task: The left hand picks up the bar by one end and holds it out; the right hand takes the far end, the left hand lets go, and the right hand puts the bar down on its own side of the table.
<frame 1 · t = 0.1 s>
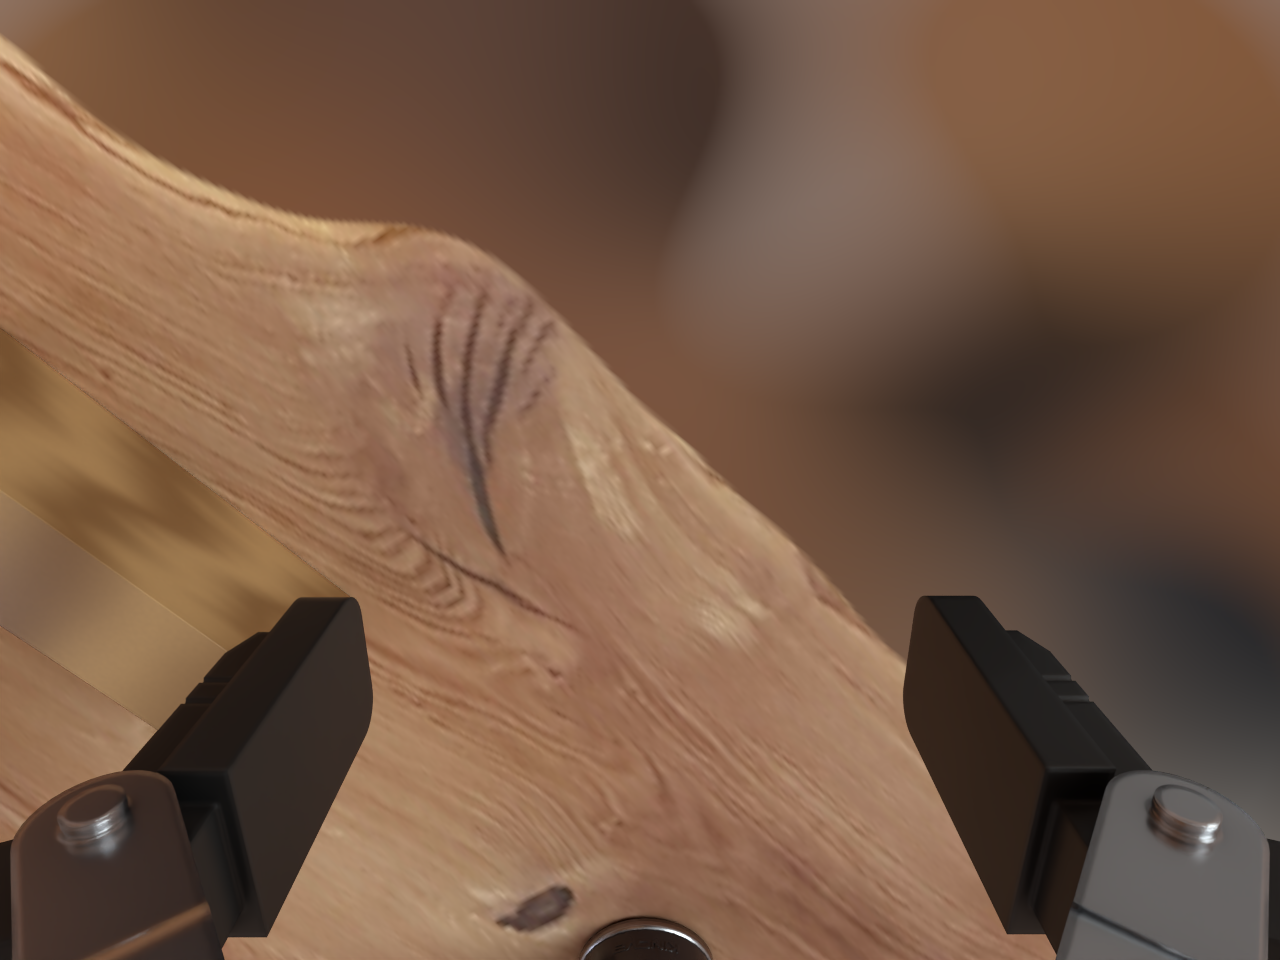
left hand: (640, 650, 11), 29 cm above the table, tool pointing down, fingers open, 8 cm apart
bar: (152, 505, 42), on the table
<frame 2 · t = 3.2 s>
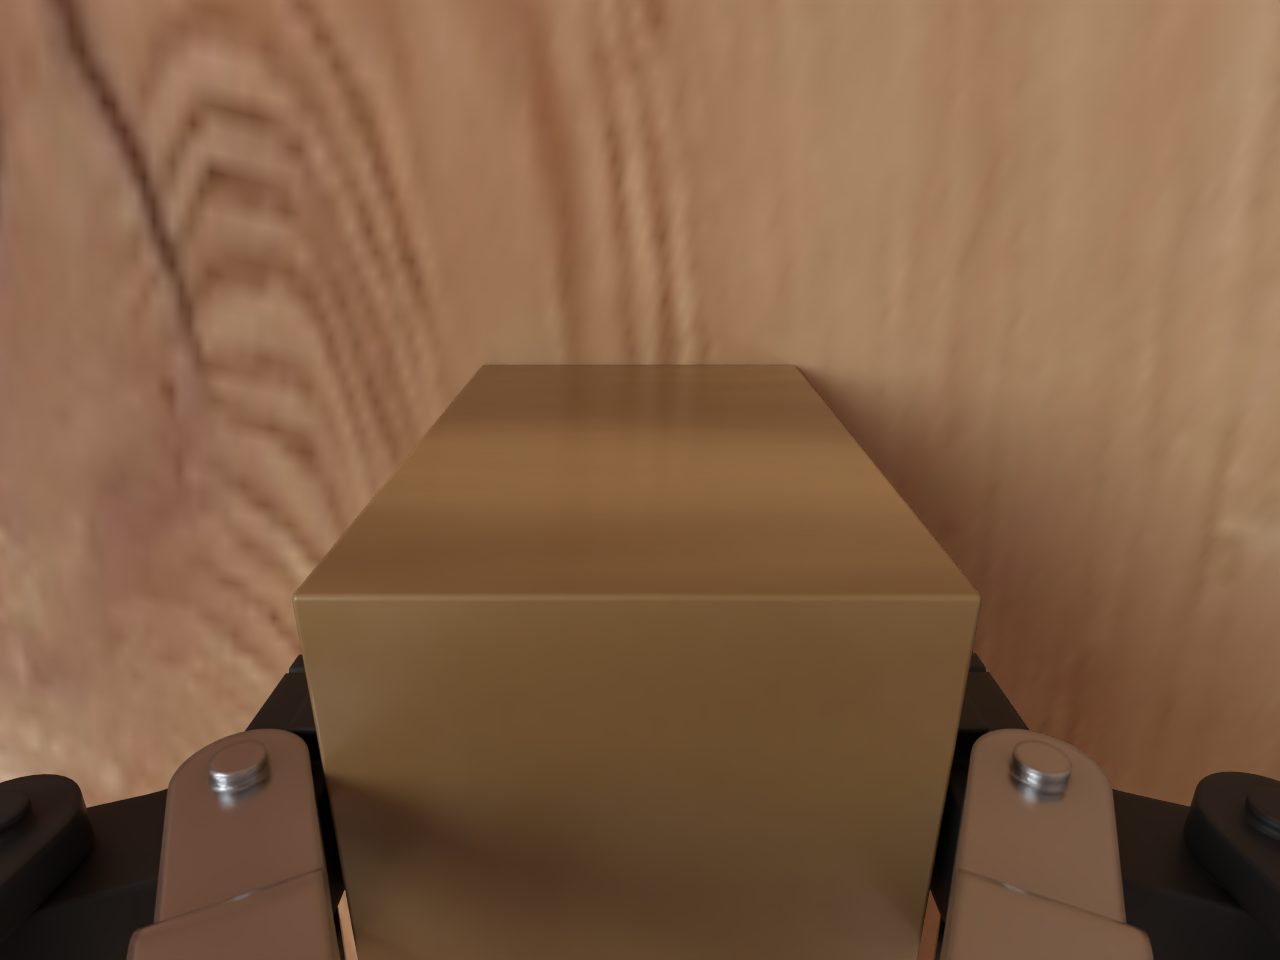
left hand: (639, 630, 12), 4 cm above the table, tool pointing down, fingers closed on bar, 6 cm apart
bar: (639, 816, 19), on the table, touching left hand
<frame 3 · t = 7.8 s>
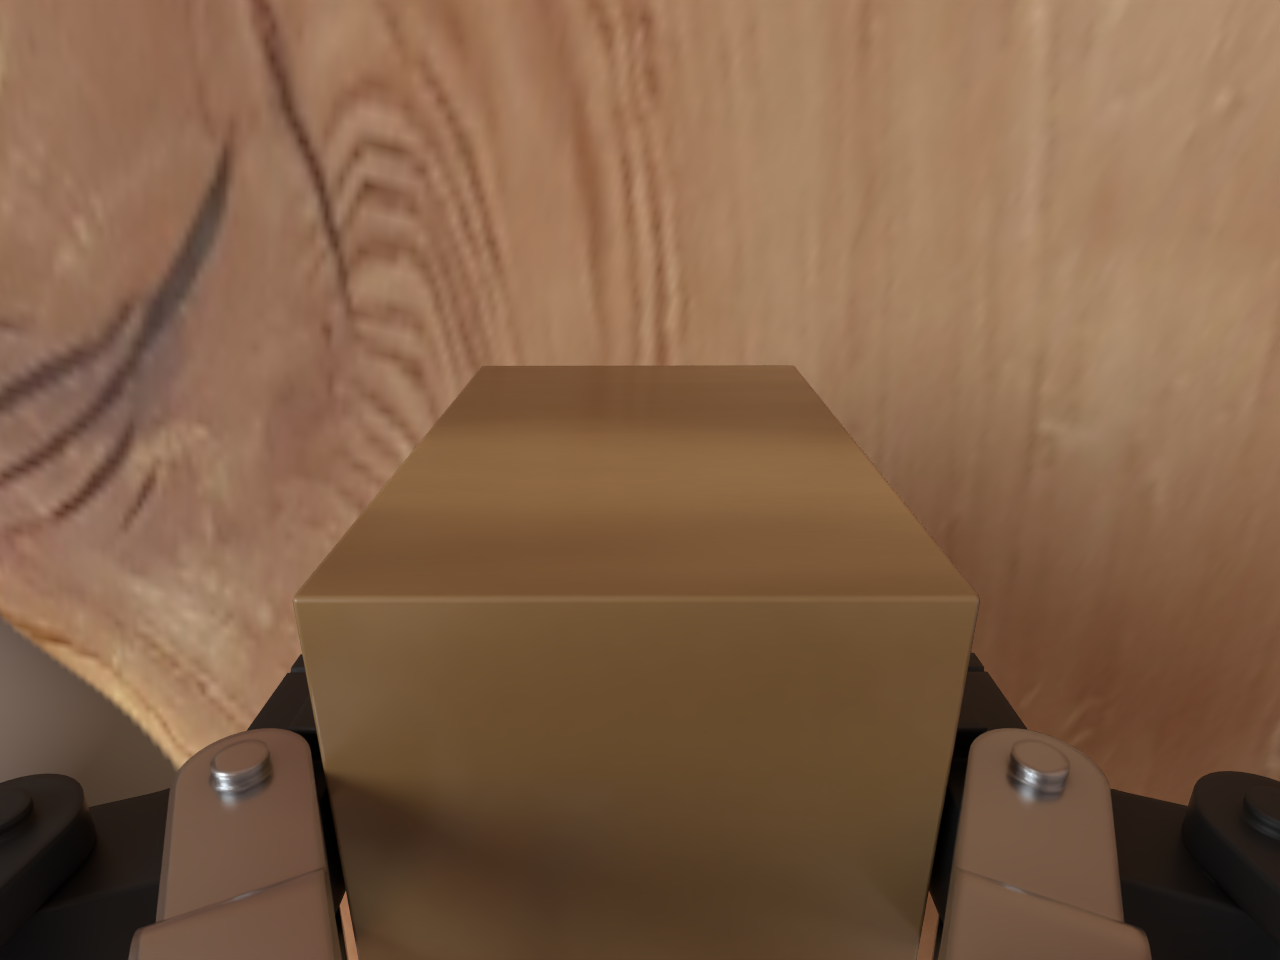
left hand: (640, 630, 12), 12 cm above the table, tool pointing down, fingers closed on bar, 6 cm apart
bar: (639, 815, 19), point 8 cm above the table, touching left hand, right hand
when the left hand's fingers open (12 cm above the table, at t = 8.7 s): bar stays where it is, held by the right hand.
when the right hand's fingers open (2 cm above the table, at t = 13.8 s): bar drops 1 cm, on the table.
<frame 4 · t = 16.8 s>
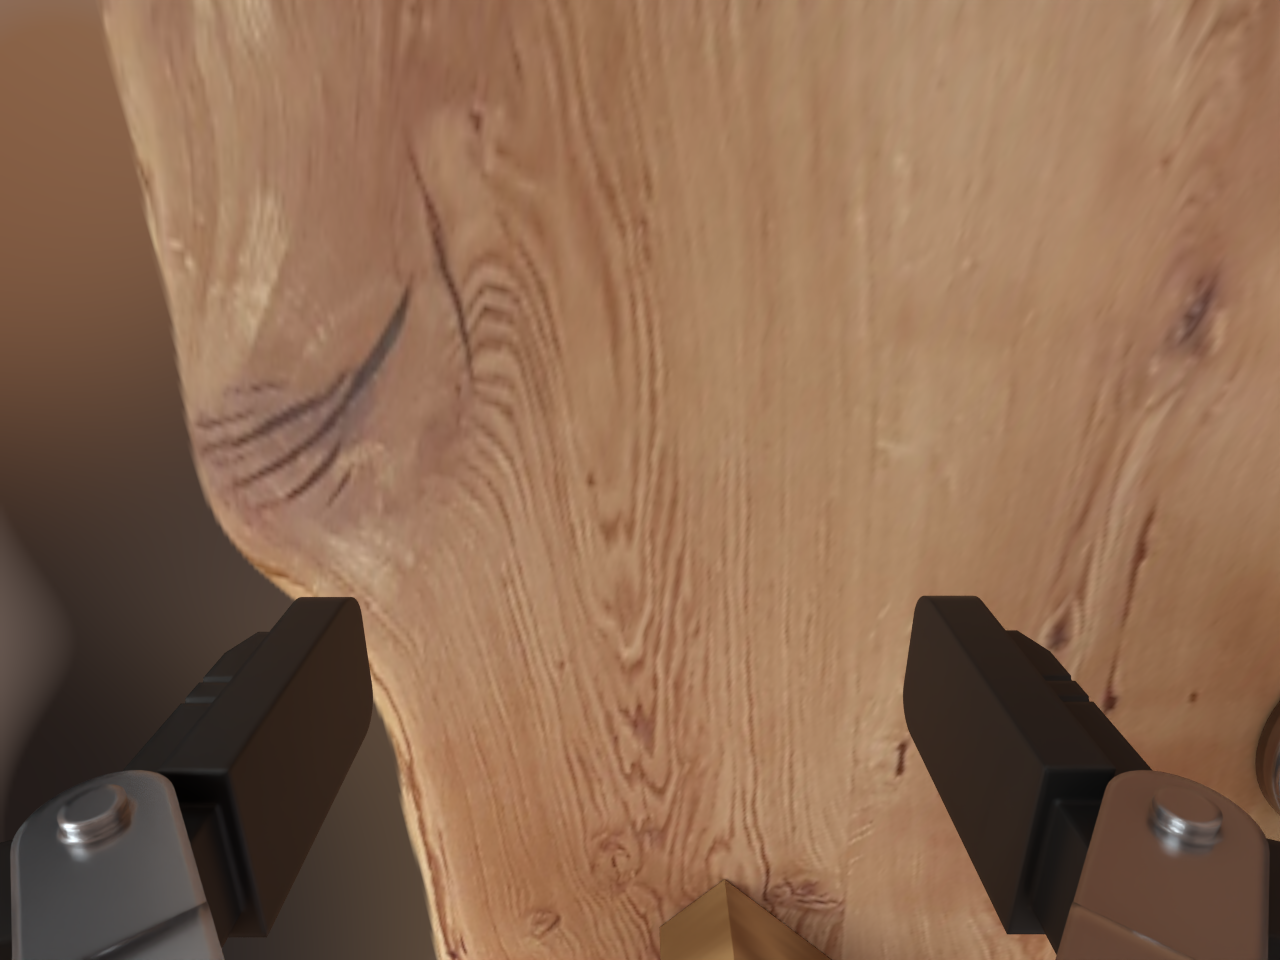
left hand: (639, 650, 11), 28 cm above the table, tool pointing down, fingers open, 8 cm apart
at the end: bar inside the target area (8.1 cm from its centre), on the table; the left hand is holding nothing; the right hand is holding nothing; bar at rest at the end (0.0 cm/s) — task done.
